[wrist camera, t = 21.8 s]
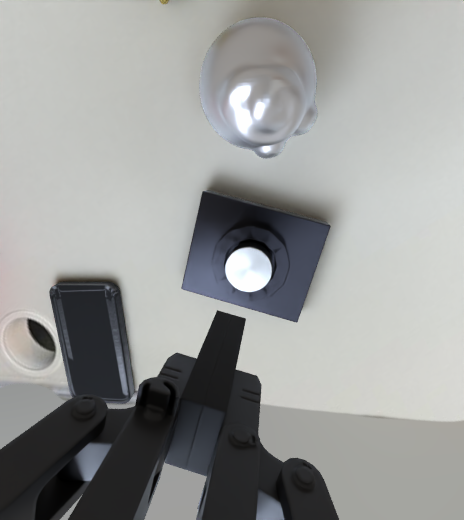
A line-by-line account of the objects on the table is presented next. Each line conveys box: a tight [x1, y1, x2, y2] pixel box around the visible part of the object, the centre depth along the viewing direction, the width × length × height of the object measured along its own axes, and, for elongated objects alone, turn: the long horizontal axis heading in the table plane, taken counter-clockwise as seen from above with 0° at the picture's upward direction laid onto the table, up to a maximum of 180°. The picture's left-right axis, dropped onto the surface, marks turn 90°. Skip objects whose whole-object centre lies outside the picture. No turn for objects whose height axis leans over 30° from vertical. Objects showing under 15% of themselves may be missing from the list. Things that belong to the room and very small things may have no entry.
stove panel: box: [182, 190, 330, 322], centre depth 31 cm, size 12×10×4 cm
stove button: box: [225, 242, 273, 292], centre depth 29 cm, size 4×4×2 cm
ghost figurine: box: [199, 17, 318, 158], centre depth 24 cm, size 9×10×10 cm
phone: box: [50, 282, 134, 404], centre depth 38 cm, size 8×1×15 cm
